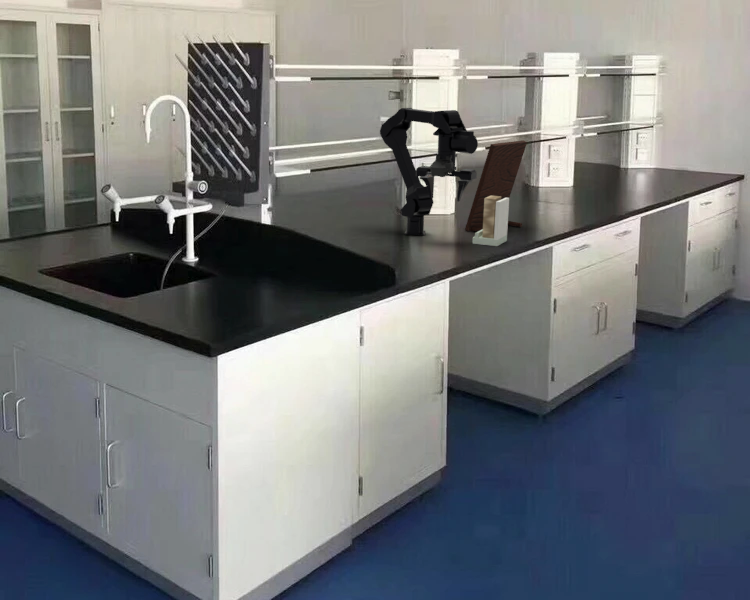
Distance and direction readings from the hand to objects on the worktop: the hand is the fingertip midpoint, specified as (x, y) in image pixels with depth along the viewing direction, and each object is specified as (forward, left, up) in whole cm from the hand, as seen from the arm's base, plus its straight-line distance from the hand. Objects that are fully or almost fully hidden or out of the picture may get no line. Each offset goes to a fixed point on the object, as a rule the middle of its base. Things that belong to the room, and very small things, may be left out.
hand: (444, 200), depth 289 cm
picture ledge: (-1, +14, -13) cm, 19 cm away
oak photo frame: (0, +15, -11) cm, 19 cm away
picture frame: (-24, +16, -13) cm, 32 cm away
